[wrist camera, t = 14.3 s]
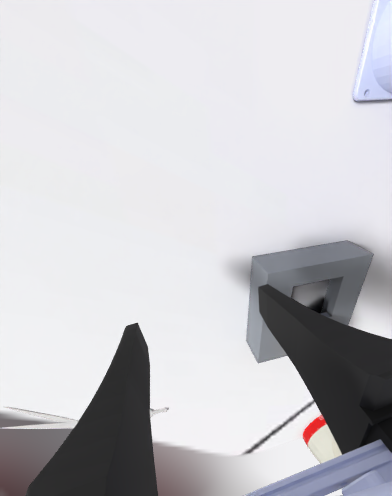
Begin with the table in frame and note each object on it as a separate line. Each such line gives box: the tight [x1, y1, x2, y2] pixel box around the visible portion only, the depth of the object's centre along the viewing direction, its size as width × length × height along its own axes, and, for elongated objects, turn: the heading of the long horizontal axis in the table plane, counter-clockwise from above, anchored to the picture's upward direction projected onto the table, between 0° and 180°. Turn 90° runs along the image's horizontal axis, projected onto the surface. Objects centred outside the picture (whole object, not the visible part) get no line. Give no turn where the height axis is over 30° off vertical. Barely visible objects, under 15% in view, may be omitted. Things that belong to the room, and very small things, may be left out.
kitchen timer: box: [303, 415, 342, 464], centre depth 44 cm, size 14×14×15 cm
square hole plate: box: [246, 241, 374, 363], centre depth 27 cm, size 12×13×3 cm
